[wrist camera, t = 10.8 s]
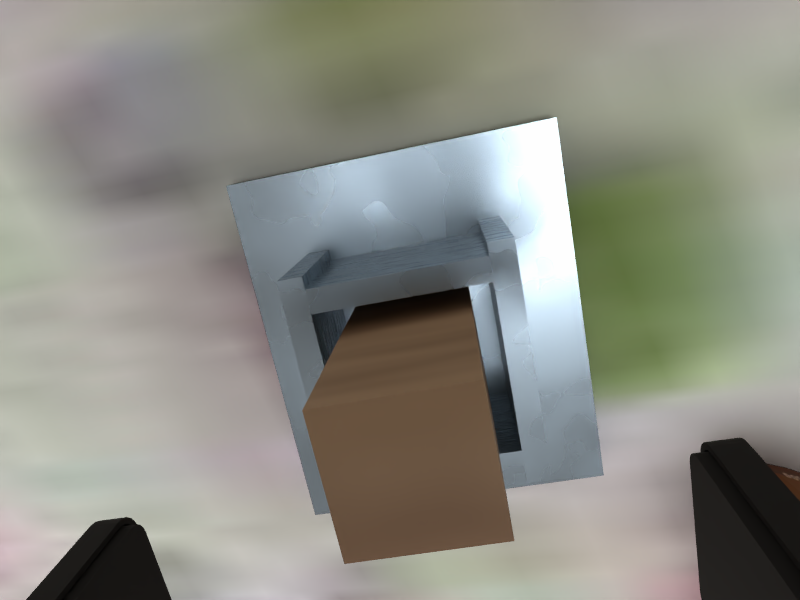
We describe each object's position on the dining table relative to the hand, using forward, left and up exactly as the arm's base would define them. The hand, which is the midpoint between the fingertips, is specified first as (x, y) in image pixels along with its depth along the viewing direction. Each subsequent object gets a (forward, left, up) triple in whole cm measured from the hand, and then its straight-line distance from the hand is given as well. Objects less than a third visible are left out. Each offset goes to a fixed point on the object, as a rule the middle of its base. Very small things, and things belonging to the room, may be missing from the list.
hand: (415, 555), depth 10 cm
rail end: (+1, 0, -13) cm, 13 cm away
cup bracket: (+1, 0, -14) cm, 14 cm away
